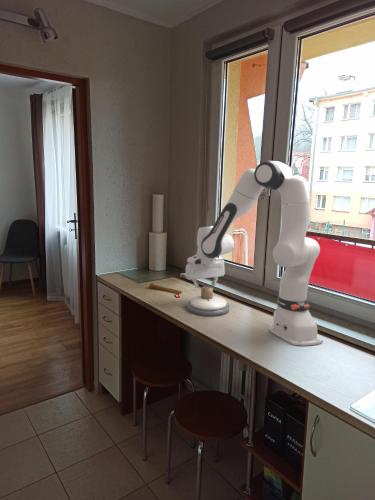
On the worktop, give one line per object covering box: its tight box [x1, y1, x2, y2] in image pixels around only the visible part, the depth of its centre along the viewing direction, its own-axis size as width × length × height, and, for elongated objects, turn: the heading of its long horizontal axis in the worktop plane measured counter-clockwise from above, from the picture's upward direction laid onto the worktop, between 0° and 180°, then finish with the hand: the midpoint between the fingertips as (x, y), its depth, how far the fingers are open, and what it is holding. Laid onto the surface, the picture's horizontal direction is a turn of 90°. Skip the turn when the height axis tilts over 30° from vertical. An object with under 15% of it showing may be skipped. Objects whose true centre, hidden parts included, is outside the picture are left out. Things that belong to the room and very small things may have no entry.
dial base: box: [187, 300, 230, 317], centre depth 177 cm, size 20×20×2 cm
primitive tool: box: [148, 282, 183, 295], centre depth 202 cm, size 19×6×4 cm, turn 71°
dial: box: [190, 285, 227, 311], centre depth 176 cm, size 17×17×6 cm
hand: (205, 286), depth 180 cm, fingers open, 8 cm apart
